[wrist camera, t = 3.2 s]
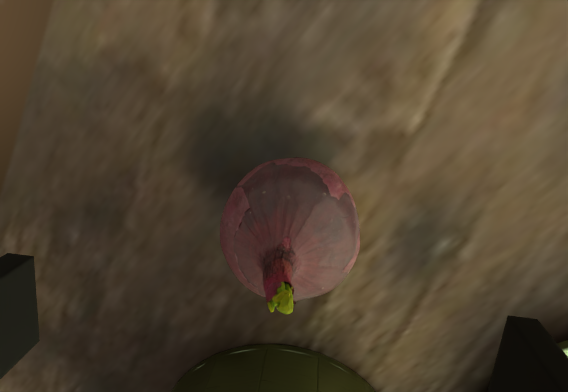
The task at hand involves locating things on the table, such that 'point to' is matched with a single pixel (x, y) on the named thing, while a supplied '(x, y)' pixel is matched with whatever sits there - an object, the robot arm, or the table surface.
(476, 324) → the table surface
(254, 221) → the vegetable
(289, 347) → the canister
